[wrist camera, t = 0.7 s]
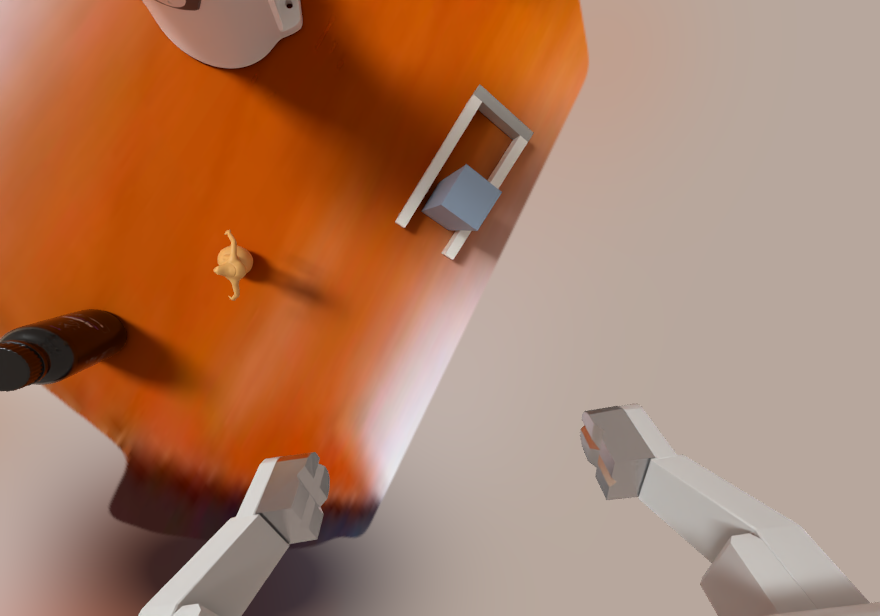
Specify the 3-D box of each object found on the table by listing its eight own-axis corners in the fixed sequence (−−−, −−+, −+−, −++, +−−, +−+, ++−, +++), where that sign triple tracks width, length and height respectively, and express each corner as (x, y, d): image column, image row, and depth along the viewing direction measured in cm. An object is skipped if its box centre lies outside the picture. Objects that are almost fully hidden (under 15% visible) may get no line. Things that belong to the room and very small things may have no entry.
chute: (449, 258, 51) (453, 259, 48) (394, 222, 48) (395, 221, 45) (525, 137, 49) (533, 132, 46) (473, 91, 46) (479, 84, 43)
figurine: (223, 227, 43) (170, 227, 32) (272, 231, 44) (238, 232, 33) (227, 288, 45) (179, 308, 34) (274, 290, 46) (243, 310, 35)
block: (448, 230, 49) (477, 230, 36) (421, 211, 48) (441, 204, 35) (465, 202, 49) (502, 192, 36) (439, 182, 48) (466, 164, 34)
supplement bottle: (118, 303, 43) (26, 331, 31) (137, 351, 44) (57, 393, 33) (57, 312, 41) (-61, 344, 30) (79, 361, 43) (-24, 408, 32)
